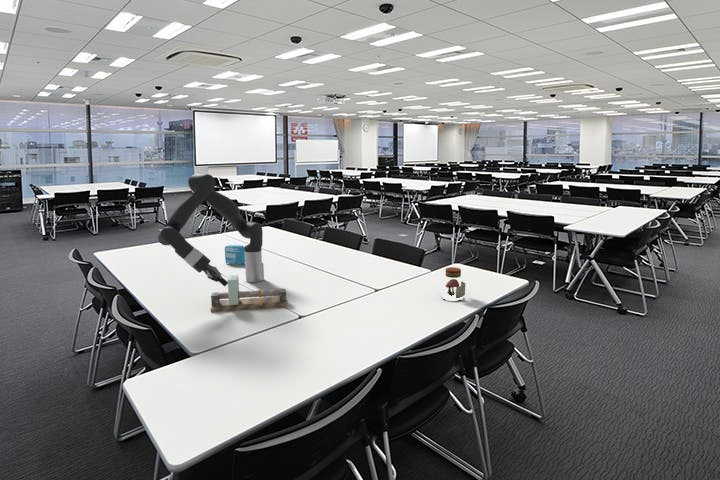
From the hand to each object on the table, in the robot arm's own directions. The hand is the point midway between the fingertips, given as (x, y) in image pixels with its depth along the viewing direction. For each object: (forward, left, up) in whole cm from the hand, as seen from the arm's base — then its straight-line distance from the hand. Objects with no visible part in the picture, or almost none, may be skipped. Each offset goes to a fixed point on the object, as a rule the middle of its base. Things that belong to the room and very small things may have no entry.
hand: (226, 284), depth 207 cm
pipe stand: (-7, +7, -11) cm, 15 cm away
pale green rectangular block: (-2, +2, -9) cm, 9 cm away
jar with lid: (-70, +82, -11) cm, 109 cm away
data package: (-57, -63, -11) cm, 86 cm away
